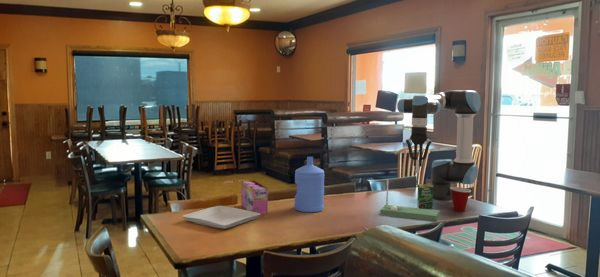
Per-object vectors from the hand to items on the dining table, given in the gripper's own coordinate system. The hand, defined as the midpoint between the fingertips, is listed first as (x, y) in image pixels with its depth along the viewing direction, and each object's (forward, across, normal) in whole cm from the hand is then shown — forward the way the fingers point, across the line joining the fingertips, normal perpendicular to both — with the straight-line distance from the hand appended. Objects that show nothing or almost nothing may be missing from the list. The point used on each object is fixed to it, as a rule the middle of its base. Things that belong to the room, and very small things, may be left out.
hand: (417, 172), depth 239 cm
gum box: (+23, -80, -25) cm, 87 cm away
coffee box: (+23, +2, +20) cm, 30 cm away
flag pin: (+20, -16, +4) cm, 26 cm away
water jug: (+22, -54, -11) cm, 60 cm away
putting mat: (+22, -3, +1) cm, 23 cm away
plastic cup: (+23, +20, +23) cm, 38 cm away
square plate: (+23, -83, -51) cm, 100 cm away
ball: (+20, -11, 0) cm, 23 cm away
